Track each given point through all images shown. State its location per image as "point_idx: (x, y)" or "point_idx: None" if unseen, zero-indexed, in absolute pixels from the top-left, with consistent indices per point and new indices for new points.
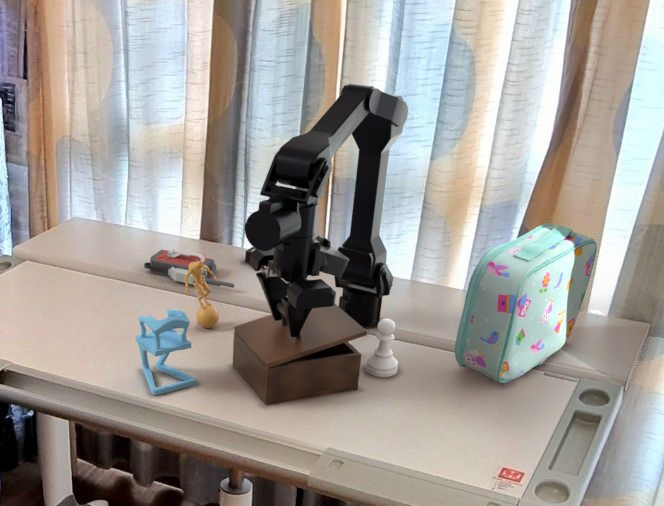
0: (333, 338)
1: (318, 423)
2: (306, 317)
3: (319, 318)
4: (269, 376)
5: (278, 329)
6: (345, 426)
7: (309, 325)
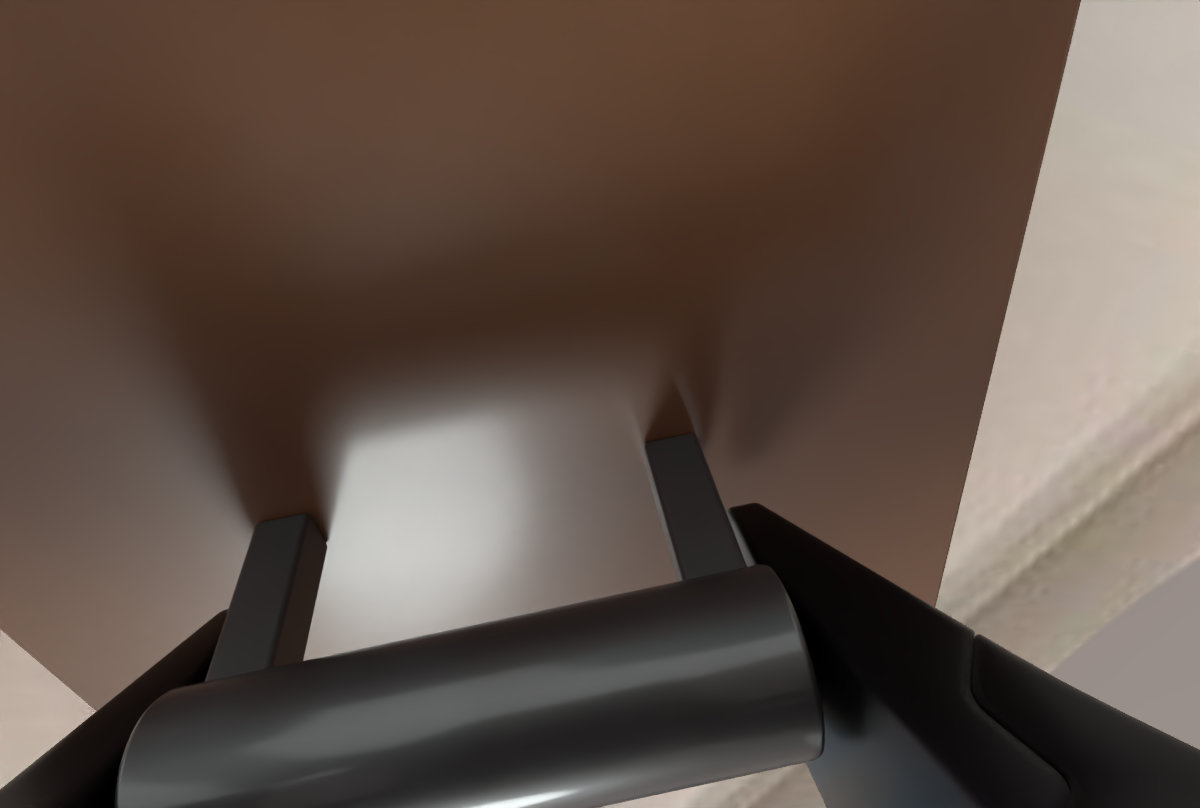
0: (990, 52)
1: (1070, 231)
2: (1015, 666)
3: (211, 82)
4: None
5: (395, 587)
6: (1176, 67)
7: (418, 287)
